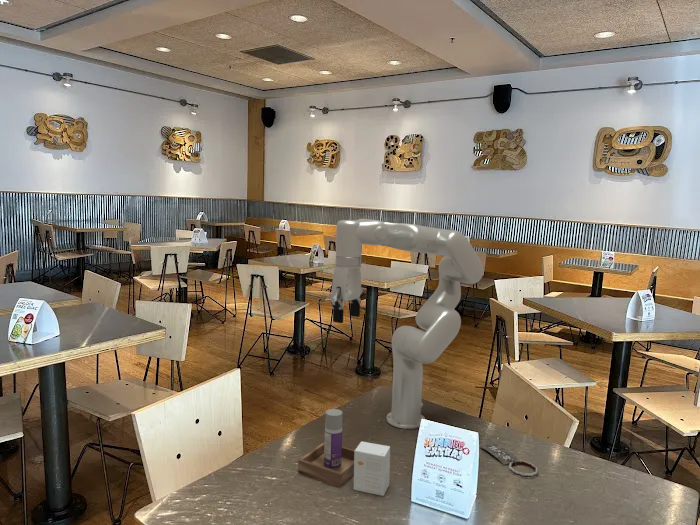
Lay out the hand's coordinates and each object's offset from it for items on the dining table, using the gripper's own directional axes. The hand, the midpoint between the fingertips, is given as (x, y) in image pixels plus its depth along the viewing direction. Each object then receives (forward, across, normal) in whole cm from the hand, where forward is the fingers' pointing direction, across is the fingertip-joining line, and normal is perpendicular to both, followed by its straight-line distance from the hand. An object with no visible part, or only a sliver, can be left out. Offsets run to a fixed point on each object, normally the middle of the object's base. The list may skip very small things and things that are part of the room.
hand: (346, 319), depth 155 cm
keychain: (+37, -12, +47) cm, 61 cm away
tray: (+36, +19, +8) cm, 42 cm away
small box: (+36, +21, +21) cm, 47 cm away
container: (+36, +19, +8) cm, 41 cm away
